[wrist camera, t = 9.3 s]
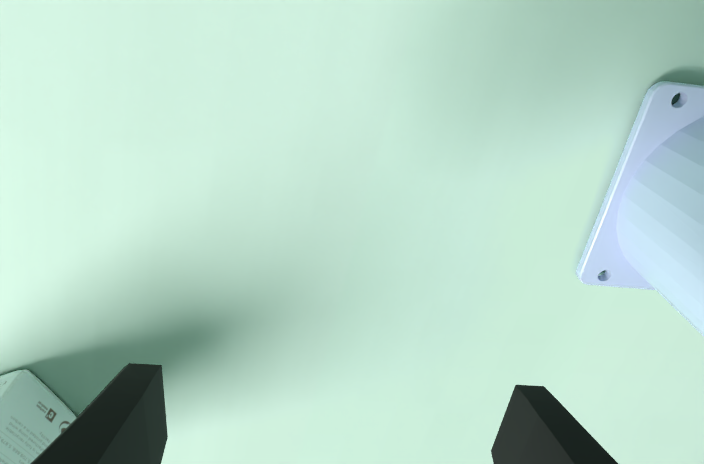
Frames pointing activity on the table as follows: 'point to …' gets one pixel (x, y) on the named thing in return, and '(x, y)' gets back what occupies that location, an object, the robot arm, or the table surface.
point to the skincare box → (28, 417)
